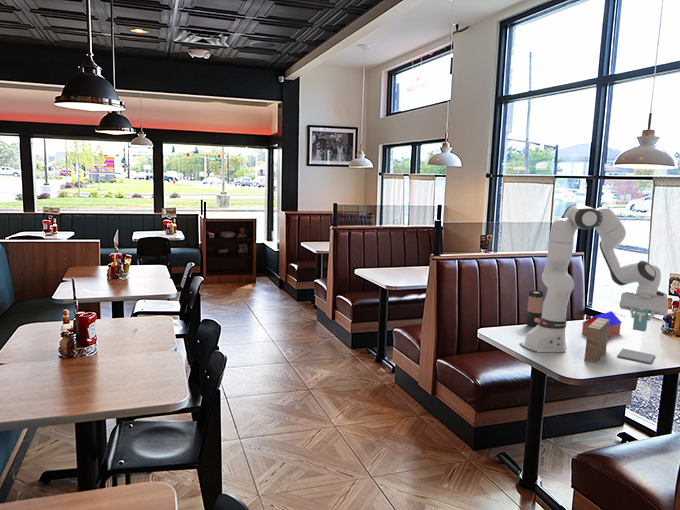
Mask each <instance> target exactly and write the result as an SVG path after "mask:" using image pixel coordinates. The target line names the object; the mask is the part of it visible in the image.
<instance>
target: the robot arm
mask: <svg viewBox="0 0 680 510" xmlns="http://www.w3.org/2000/svg"><path fill="white" fill-rule="evenodd" d="M593 228H594V229H595V231H596V232H597V234H598V236H599V238H600V241H599V248H600V252H601V255H602V257H603V258H604V261H605V263H606V265H607V268H608V270H609V273H610V278H611V280H612V281H613V282H614V283H615V284H617V285H618V286H621V287H622V286H626V285H630V284H633V283H638V286H637V289H636V292H628V291H625V292H623V293H621V297H620V300H619V308H620V309H621V310H627V311H629V313H630V314H631V316H630V317H631V318H632V319H634V315H635V309H636V308H638V307H640V308H647V309H649V312H648V314H649V315H648V316H647V322H648V321H649V322H650V321H651V320H652V318H653V317H655V315H656V316H657V315H658V316H664V317H666V316H667V315H668V314H669V301H668V294H667V293H666V292H662V291H660V290H659V287H660V283H661V279H662V276H661V275H662V273H661V272H662V271H661V269H660V268H659V267H658V266H656V265H654V264H650V263H649V262H647V261H645V260H637V261H634V262H633V261H632V262H629V263H625V264H621V263H620V262H619V260H618V257H617V255H616V253H615V248H616V247H618V246H619V245H620V244H621V243H622V242H623V241H624V240H625V238H626V236H627V231H626V230H627V229H626V228H625V227H624V224H623V223H622V222H621V220H620V219H619V217H618V216H617V214H615V213H614V212H613V211H612V210H611V208H609V207H607V206H601V207H598V208H594V207H591V206H587V205H583V204H573V205H570V206H568V207H567V208H566V209H565V211H564V212H563V214H562V215H561V217H560V218H558V219H555V220H554V221H553V222H552V224H551V228H550V232H549V237H548V245H547V247H548V248H547V254H546V255H547V256H546V260H545V264H544V268H543V272H542V274H541V281H542V283H543V284H544V286H545V287H547V291H546V293H545V294H546V295H545V298H544V299H543V303H542V314H541V318H540V319H538V318H535V322H537V323H538V325H537V326H536V327H535V328H532V329H531V330H530V331H528V332H527V333H526V335H525V340H522V341H520V342H519V345H520V344H521V345H522V346H521V345H520V346H521V347H523V346H524V347H523V348H525V347H526V348H525V349H527V348H528V349H527V350H529V349H531V350H530V351H532V350H534V351H533V352H535V351H537V352H536V353H562V352H564V353H565V352H567V351H566V350H567V344H566V327H567V319H566V318H567V310H568V309H567V308H568V304H569V300H570V297H571V294H572V291H573V290H574V289H575V282H574V279H573V277H572V276H571V275H570V274H569V273H568V268H569V265H570V262H571V260H572V259H573V249H574V248H573V247H574V239H575V238H574V237H575V233H576V232H577V230H578V229H580V230H590V229H593Z"/></svg>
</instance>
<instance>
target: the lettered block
mask: <svg viewBox="0 0 680 510" xmlns="http://www.w3.org/2000/svg"><path fill="white" fill-rule="evenodd" d="M648 312H649V309H647V308H640V307H638V308H636V309H635V311H634V313H635V315H634V318H633V324H632V330H634V331H637V332H638V331H640V332H646V331H647V329H648V328H647V327H648V320H647V316H649V313H648Z"/></svg>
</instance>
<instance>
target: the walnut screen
mask: <svg viewBox="0 0 680 510" xmlns="http://www.w3.org/2000/svg"><path fill="white" fill-rule="evenodd" d="M608 329H609V319H603V318H597V319H596V320H595V321H594V322H593V323H592V324H591V325H590V326H588V330H587V335H586V341H585V350H584V351H585V352H584V361H586V362H591V363H594V364H597V362H598V361H599V360H600V359H601V358H602V356H604V355H605V353H606V352H607V345H608V344H607V343H608V339H609V338H608Z"/></svg>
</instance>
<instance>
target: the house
mask: <svg viewBox="0 0 680 510" xmlns="http://www.w3.org/2000/svg"><path fill="white" fill-rule="evenodd" d="M597 318H603V319H609V329H608V338H607V339H609V338H612V337H614V335H615V336H618V335H620V333H621V326H622V321H621V320H620V319H619V318H618V317H617V315H616V314H615V313H614V312H613V311H612V310H611V311H608V312H605V313H601V314H598V315H595V316H592V317H590V318H588V319H585V321H582V328H581V330H582V331H581V335H583V336H587V330H588V326H590V325H591V324H592V323H593V322H594V321H595V320H596V319H597ZM617 334H618V335H617Z"/></svg>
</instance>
